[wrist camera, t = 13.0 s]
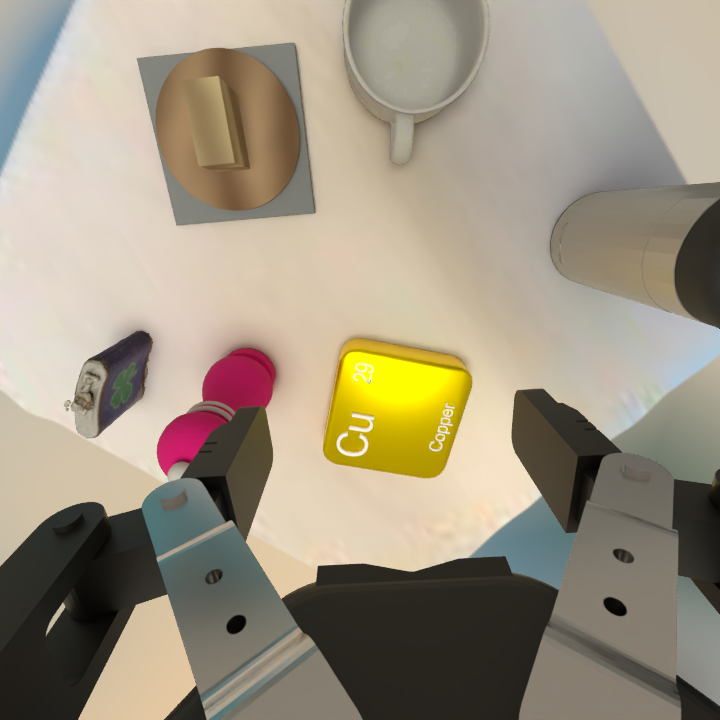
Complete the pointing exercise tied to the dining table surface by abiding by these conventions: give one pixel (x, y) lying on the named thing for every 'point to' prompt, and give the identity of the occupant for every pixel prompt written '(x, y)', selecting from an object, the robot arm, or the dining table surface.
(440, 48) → the teacup
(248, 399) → the pepper mill
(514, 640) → the robot arm
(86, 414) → the flask
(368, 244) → the dining table surface
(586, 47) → the dining table surface
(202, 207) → the mat
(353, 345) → the element tile
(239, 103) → the lid
